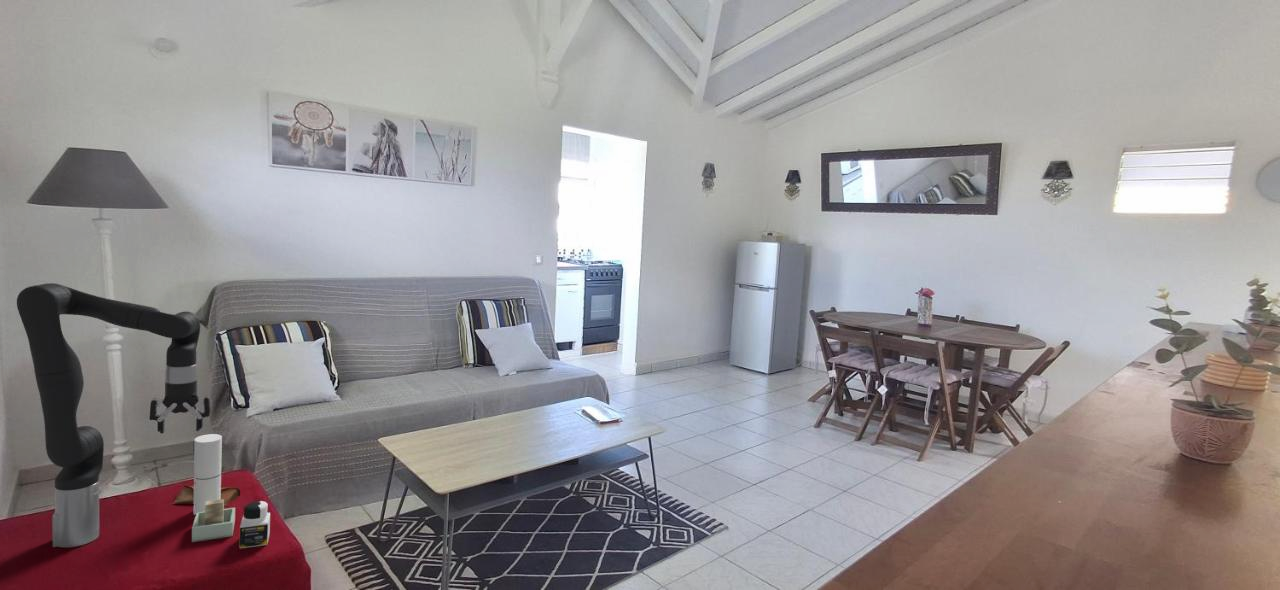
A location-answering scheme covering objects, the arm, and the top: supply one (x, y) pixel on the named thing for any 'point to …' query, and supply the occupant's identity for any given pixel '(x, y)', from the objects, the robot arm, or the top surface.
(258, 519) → the medicine bottle
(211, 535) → the open box
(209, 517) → the beige wooden block
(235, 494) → the sunglasses case
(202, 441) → the cylindrical container
